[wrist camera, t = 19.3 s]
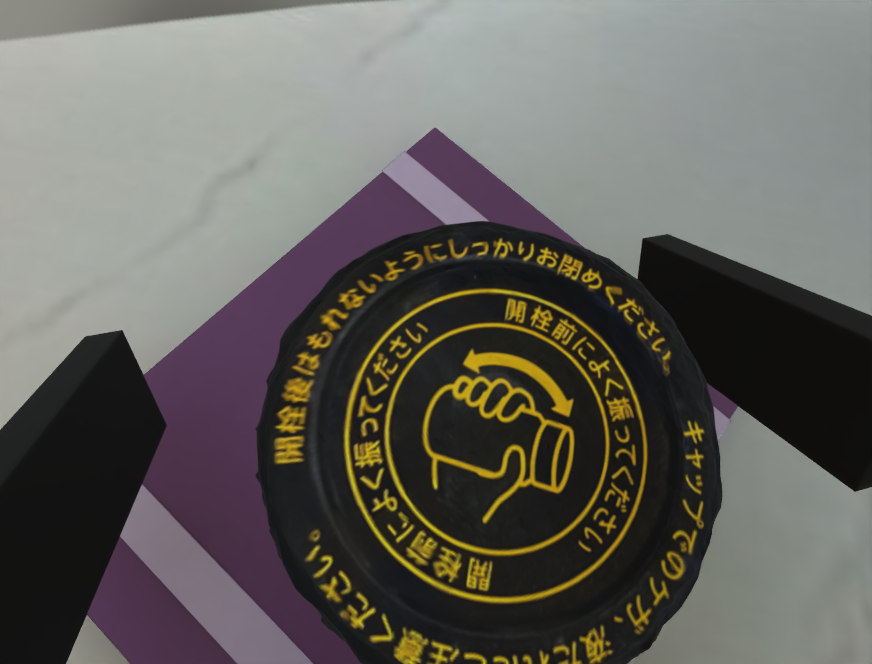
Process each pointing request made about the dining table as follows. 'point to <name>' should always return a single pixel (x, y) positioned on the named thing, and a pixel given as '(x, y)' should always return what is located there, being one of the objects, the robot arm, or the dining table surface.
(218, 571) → the towel
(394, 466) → the condiment
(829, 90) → the dining table surface
